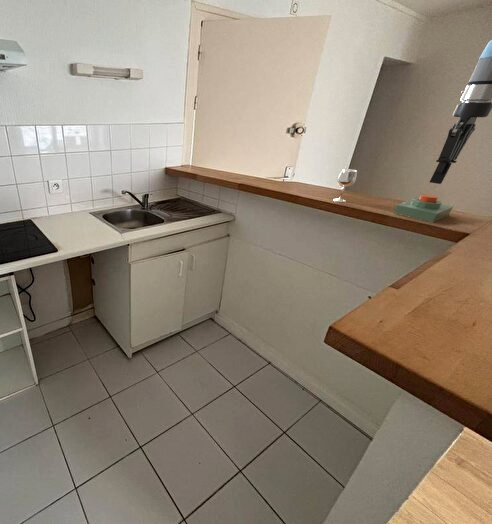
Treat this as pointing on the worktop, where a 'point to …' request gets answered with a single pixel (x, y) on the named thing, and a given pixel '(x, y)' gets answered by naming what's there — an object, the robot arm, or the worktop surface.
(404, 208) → the green button base
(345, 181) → the wineglass
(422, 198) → the release button
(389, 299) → the worktop surface
